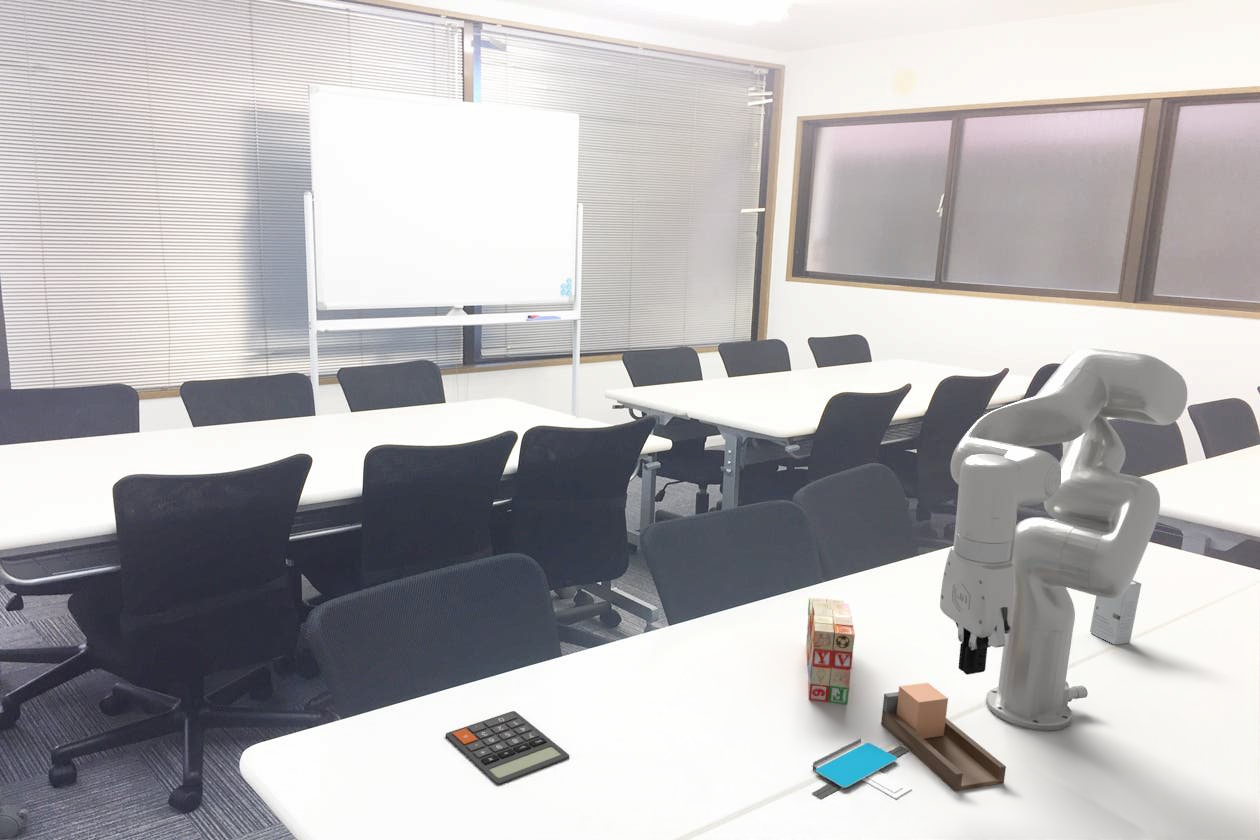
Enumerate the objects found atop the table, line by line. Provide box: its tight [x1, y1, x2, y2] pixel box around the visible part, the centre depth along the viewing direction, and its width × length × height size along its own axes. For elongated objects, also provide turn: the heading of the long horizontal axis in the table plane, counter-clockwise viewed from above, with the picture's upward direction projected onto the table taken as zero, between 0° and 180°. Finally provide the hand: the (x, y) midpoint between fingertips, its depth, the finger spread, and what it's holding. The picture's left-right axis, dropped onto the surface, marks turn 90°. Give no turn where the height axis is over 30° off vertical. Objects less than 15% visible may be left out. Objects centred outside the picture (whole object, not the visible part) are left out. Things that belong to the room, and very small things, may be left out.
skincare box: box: [1089, 579, 1142, 645], centre depth 176 cm, size 6×4×12 cm
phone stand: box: [810, 738, 912, 800], centre depth 129 cm, size 20×12×2 cm, turn 129°
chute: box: [880, 691, 1007, 792], centre depth 135 cm, size 8×18×5 cm, turn 17°
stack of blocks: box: [806, 597, 856, 705], centre depth 157 cm, size 21×6×12 cm, turn 171°
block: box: [896, 682, 949, 739], centre depth 139 cm, size 5×5×6 cm
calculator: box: [445, 710, 570, 786], centre depth 132 cm, size 12×1×15 cm
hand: (971, 670), depth 129 cm, fingers closed
